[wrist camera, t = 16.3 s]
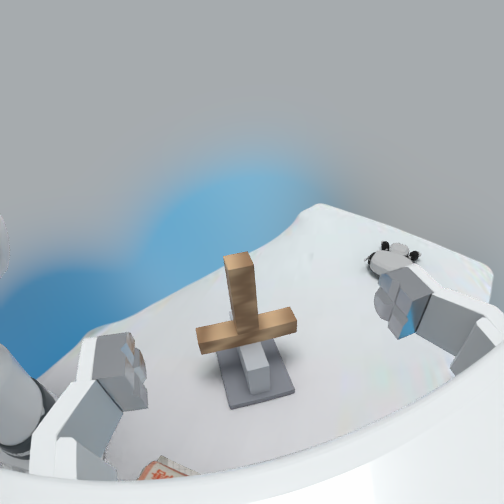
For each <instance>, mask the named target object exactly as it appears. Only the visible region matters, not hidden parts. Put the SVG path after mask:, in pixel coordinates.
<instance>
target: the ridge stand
mask: <svg viewBox="0 0 504 504" xmlns="http://www.w3.org/2000/svg"><path fill="white" fill-rule="evenodd" d="M229 313H230V319H231V321H232V320H233V315H232V311H230V312H229ZM217 356H218V361H219V365H220V369H221V373H222V377H223V381H224V385H225V389H226V393H227V397H228V401H229V405H230V409H235V408H240V407H244V406H248V405H252V404H256V403H260V402H264V401H268V400H271V399H275V398H279V397H282V396H286V395H289V394H292V393H294V392H295V389H294V386H293V384H292V382H291V379H290V377H289V375H288V372H287V370H286V368H285V365H284V363H283V361H282V358H281V356H280V353H279V351H278V349H277V346H276V344H275V342H274V339H273V338H272V339H269V340H265V341H261V342H257V343H252V344H248V345H244V346H240V347H235V348H231V349H226V350H222V351H217Z"/></svg>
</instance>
